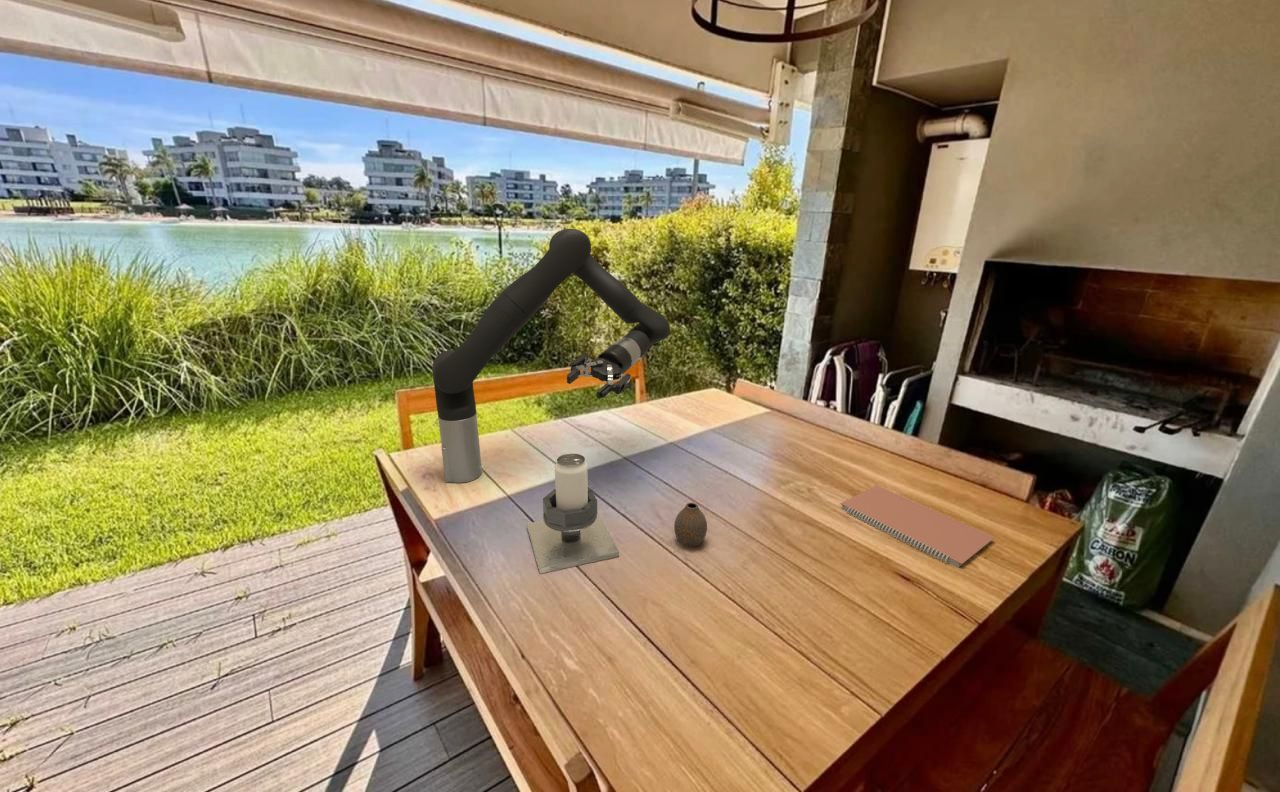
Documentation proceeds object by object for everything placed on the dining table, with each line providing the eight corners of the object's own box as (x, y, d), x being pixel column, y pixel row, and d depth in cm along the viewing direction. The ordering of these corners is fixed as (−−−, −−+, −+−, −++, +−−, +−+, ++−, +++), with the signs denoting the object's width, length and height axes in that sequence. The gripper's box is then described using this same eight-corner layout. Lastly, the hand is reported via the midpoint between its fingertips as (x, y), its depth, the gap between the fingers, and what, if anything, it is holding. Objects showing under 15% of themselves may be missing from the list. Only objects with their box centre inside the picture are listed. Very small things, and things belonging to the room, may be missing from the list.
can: (583, 521, 100) (582, 468, 96) (552, 518, 101) (550, 465, 97) (591, 504, 106) (590, 453, 102) (562, 501, 107) (560, 451, 103)
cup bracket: (540, 573, 96) (537, 528, 92) (527, 528, 110) (524, 487, 106) (618, 556, 101) (619, 512, 98) (597, 515, 115) (596, 475, 112)
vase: (709, 535, 109) (711, 500, 106) (702, 554, 102) (704, 517, 100) (678, 528, 111) (680, 494, 108) (669, 546, 105) (671, 510, 102)
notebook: (836, 510, 120) (838, 503, 119) (875, 491, 129) (876, 484, 129) (957, 572, 99) (959, 564, 99) (992, 543, 109) (995, 536, 108)
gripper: (598, 334, 127) (558, 363, 115) (646, 355, 122) (610, 388, 111) (595, 358, 132) (557, 388, 120) (641, 379, 127) (607, 413, 115)
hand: (583, 388), depth 115 cm, fingers open, 8 cm apart
